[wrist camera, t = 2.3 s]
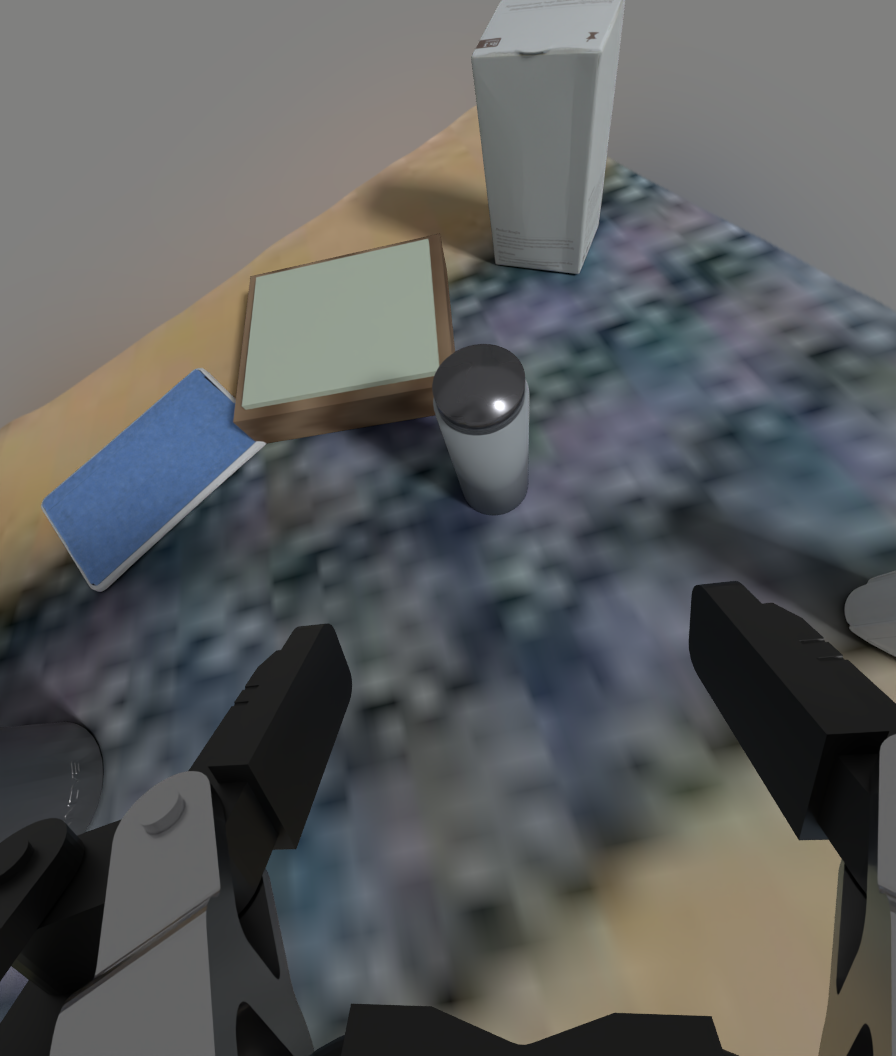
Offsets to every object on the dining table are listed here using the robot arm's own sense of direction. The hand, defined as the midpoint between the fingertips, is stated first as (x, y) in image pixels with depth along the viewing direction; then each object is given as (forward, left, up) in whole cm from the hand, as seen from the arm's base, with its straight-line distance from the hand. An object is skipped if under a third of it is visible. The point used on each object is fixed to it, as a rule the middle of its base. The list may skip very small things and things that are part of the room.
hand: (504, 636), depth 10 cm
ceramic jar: (0, +13, -19) cm, 23 cm away
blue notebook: (-30, +19, -20) cm, 41 cm away
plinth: (-11, +28, -19) cm, 36 cm away
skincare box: (+7, +36, -20) cm, 41 cm away
